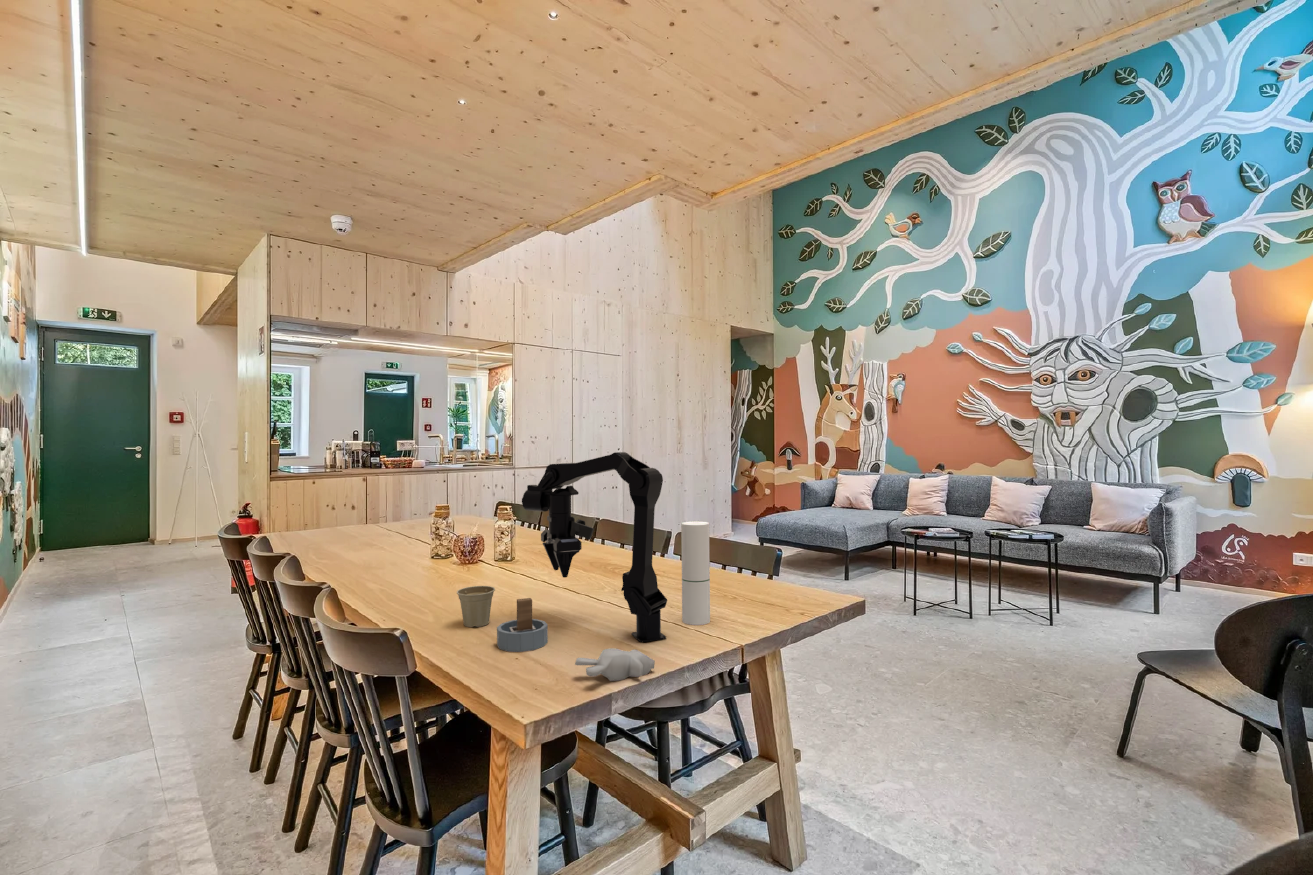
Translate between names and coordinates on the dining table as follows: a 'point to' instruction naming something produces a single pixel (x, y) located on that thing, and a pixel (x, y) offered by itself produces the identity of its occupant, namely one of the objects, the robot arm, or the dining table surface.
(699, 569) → the cylindrical container
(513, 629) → the clip
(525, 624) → the brown rectangular block
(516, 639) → the blue-grey round dish
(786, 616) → the dining table surface
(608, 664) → the bunny figurine
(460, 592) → the flower pot
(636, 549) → the robot arm
